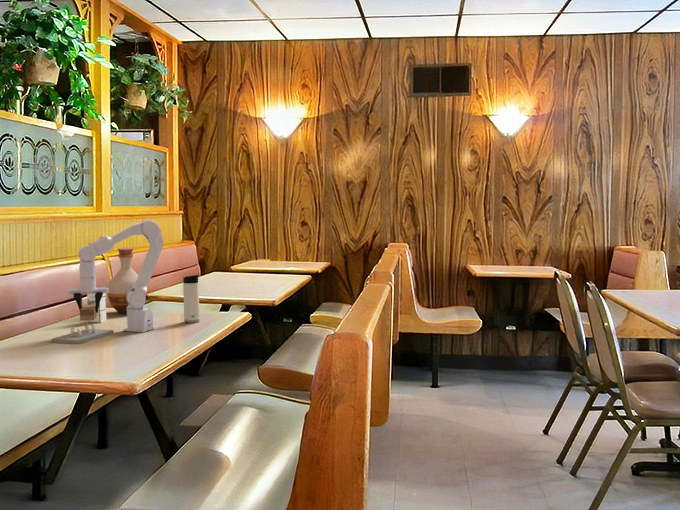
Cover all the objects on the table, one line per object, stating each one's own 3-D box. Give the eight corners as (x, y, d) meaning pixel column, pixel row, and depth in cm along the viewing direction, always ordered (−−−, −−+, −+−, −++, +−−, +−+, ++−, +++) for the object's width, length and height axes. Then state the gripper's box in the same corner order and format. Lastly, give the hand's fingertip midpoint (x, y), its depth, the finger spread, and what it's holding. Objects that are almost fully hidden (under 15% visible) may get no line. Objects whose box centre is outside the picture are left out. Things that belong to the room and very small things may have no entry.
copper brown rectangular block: (94, 320, 253) (93, 309, 252) (80, 320, 252) (79, 310, 251) (98, 314, 264) (97, 304, 264) (84, 315, 263) (84, 304, 263)
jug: (105, 310, 314) (102, 247, 312) (144, 307, 322) (142, 245, 319) (109, 317, 296) (106, 249, 294) (150, 314, 304) (148, 248, 301)
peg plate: (113, 333, 260) (113, 322, 259) (78, 343, 241) (78, 332, 240) (87, 331, 263) (87, 321, 263) (51, 342, 244) (50, 330, 244)
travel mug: (196, 323, 279) (195, 275, 278) (181, 322, 280) (180, 275, 279) (202, 320, 285) (201, 274, 284) (188, 320, 287) (186, 273, 285)
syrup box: (106, 320, 288) (105, 287, 287) (100, 323, 282) (99, 288, 281) (94, 320, 289) (92, 287, 288) (87, 322, 283) (86, 288, 282)
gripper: (108, 275, 262) (110, 309, 263) (69, 276, 259) (70, 311, 260) (106, 277, 255) (108, 312, 256) (66, 278, 252) (67, 314, 253)
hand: (89, 312), depth 258 cm, fingers closed on copper brown rectangular block, 5 cm apart
